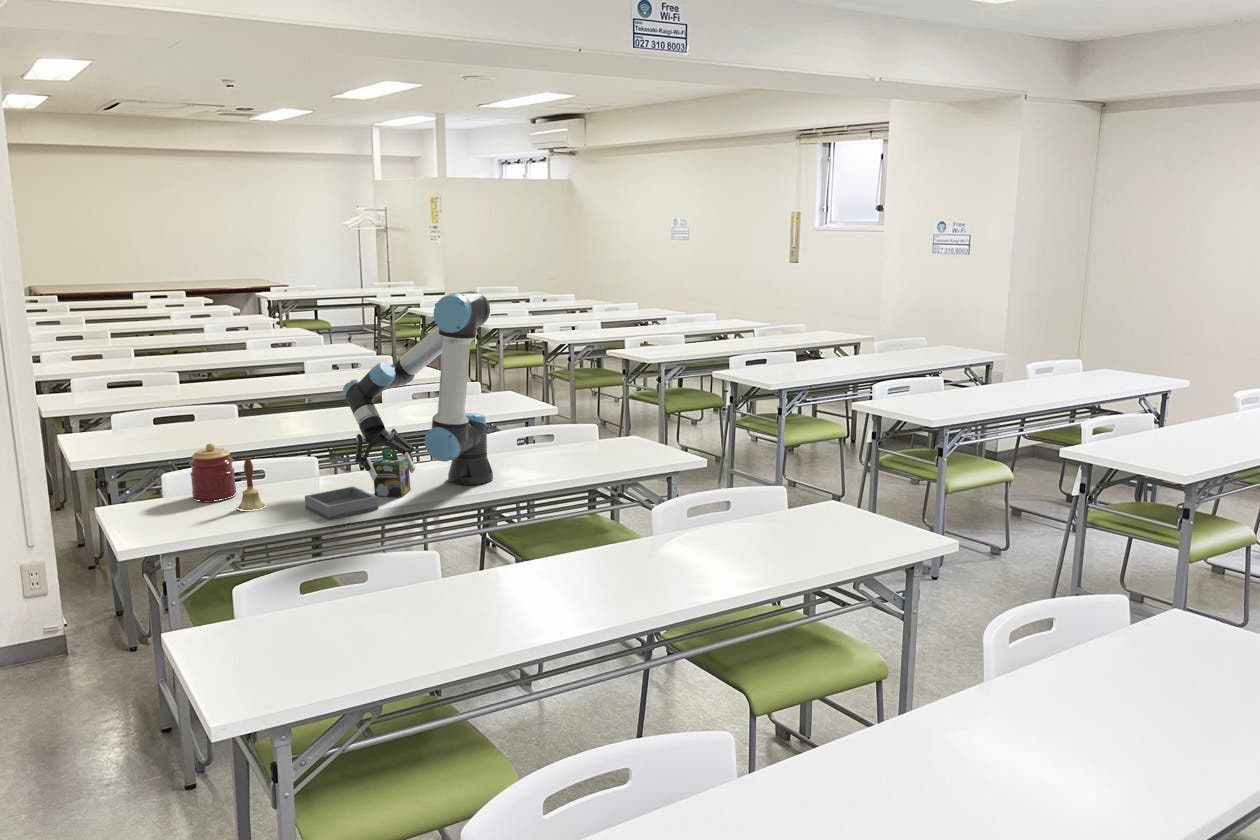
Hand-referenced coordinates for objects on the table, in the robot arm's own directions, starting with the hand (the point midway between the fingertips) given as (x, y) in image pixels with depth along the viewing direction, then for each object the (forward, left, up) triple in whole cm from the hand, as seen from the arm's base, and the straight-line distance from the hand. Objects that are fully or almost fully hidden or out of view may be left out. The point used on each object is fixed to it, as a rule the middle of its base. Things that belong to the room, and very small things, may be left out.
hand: (394, 474), depth 311 cm
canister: (+44, -37, -7) cm, 58 cm away
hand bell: (+40, -17, -7) cm, 44 cm away
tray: (+20, +3, -7) cm, 21 cm away
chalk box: (0, -2, -7) cm, 7 cm away
